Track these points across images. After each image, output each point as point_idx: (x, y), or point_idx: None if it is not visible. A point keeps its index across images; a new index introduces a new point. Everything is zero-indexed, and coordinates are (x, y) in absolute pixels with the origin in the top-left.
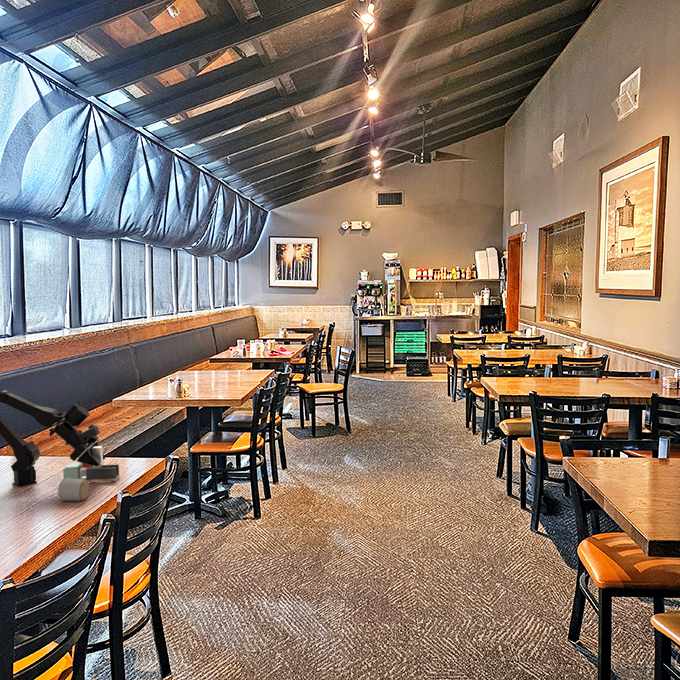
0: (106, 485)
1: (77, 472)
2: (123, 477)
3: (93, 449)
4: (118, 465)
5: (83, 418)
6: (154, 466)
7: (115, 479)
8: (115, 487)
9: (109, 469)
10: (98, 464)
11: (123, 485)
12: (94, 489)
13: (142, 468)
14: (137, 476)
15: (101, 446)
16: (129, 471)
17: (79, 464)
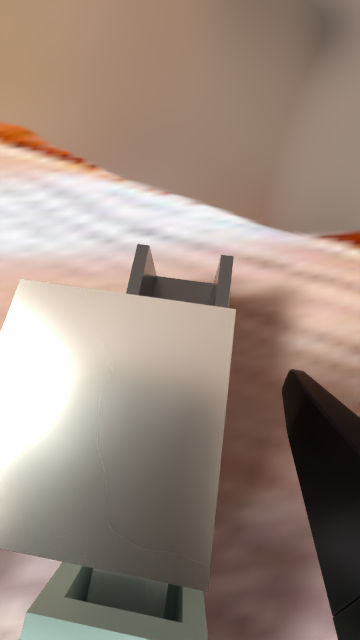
0: (286, 340)
1: (202, 595)
2: (158, 266)
3: (208, 512)
4: (145, 249)
5: None
6: (20, 147)
7: (229, 293)
8: (333, 290)
9: (227, 303)
10: (302, 376)
11: (305, 256)
12: (353, 400)
13: (27, 192)
14: (165, 205)
15: (77, 296)
16: (53, 245)
17: (100, 636)
